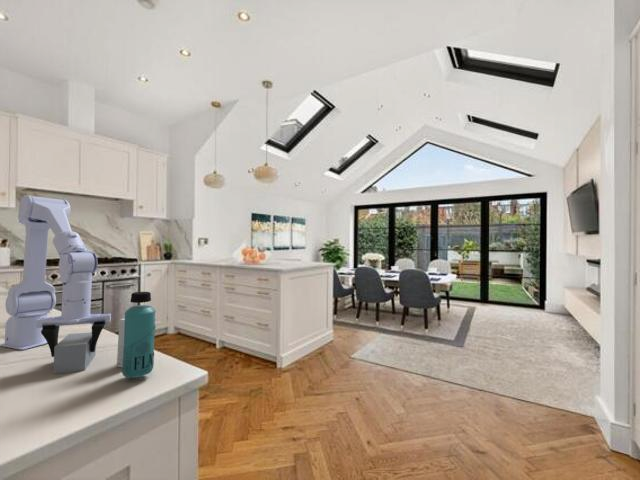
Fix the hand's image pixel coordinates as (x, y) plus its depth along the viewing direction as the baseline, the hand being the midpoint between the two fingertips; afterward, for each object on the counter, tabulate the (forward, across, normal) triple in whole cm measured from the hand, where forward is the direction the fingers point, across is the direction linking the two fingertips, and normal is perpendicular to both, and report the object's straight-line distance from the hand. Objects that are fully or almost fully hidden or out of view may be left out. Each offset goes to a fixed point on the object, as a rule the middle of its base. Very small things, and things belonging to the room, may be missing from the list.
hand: (74, 353), depth 76 cm
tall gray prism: (+3, 0, 0) cm, 3 cm away
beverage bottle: (+3, +14, -15) cm, 21 cm away
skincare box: (+3, +13, -5) cm, 14 cm away
